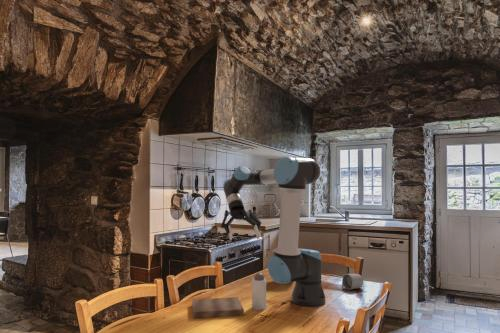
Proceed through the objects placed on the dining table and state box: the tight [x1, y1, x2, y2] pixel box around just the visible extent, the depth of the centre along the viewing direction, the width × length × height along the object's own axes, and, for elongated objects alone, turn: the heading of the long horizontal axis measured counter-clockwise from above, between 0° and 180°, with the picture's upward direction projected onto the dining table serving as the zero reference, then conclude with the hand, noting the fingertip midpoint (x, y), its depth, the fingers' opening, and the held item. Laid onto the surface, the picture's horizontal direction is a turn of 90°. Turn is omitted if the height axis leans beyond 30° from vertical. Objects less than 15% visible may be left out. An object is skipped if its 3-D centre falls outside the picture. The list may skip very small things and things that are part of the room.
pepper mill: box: [251, 272, 267, 311], centre depth 153 cm, size 6×6×15 cm
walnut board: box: [191, 296, 245, 319], centre depth 149 cm, size 20×16×2 cm
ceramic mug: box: [341, 273, 364, 291], centre depth 184 cm, size 11×8×8 cm
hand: (245, 237), depth 168 cm, fingers open, 13 cm apart
